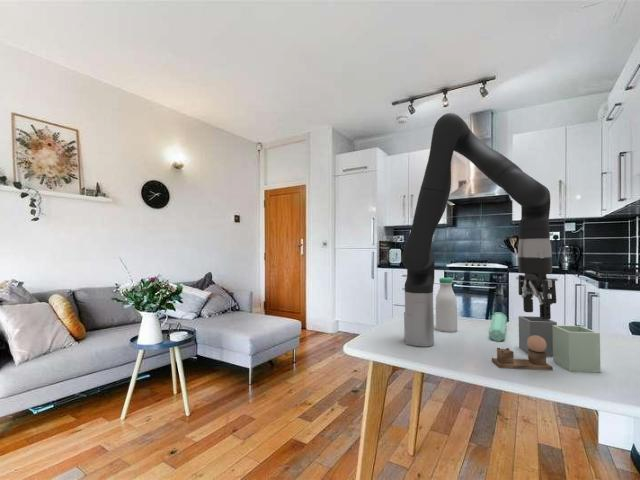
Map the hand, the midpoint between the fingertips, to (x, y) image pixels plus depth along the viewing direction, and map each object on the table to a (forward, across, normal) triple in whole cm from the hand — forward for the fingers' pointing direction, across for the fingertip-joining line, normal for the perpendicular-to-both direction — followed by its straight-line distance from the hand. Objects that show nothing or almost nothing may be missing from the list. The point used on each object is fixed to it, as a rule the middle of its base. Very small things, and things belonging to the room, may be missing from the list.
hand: (536, 315), depth 85 cm
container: (+14, -33, +3) cm, 36 cm away
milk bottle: (+14, -35, -15) cm, 40 cm away
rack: (+14, 0, -4) cm, 14 cm away
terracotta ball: (+8, 0, 0) cm, 8 cm away
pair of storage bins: (+14, -7, +8) cm, 17 cm away
